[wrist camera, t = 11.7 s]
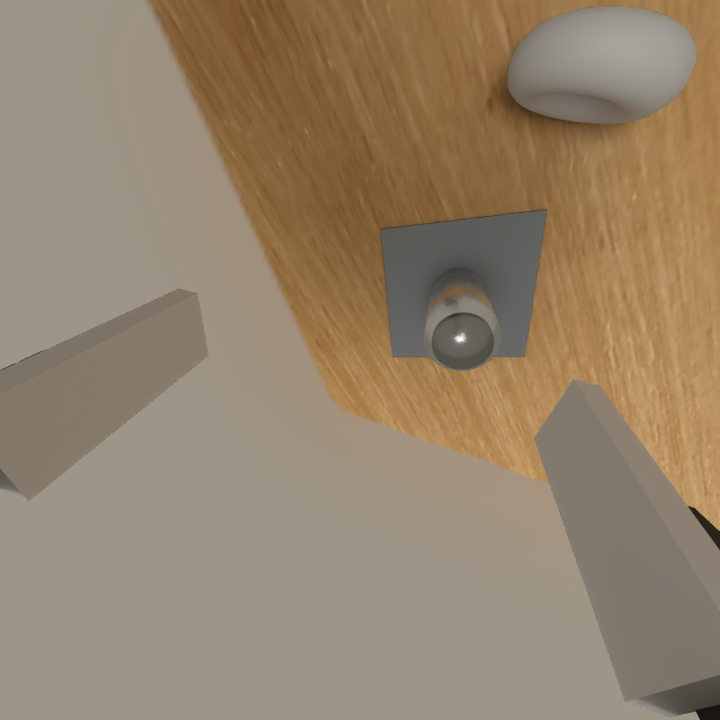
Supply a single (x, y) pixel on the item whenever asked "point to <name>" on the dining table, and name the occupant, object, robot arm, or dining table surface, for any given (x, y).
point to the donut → (602, 65)
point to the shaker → (460, 322)
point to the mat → (470, 251)
